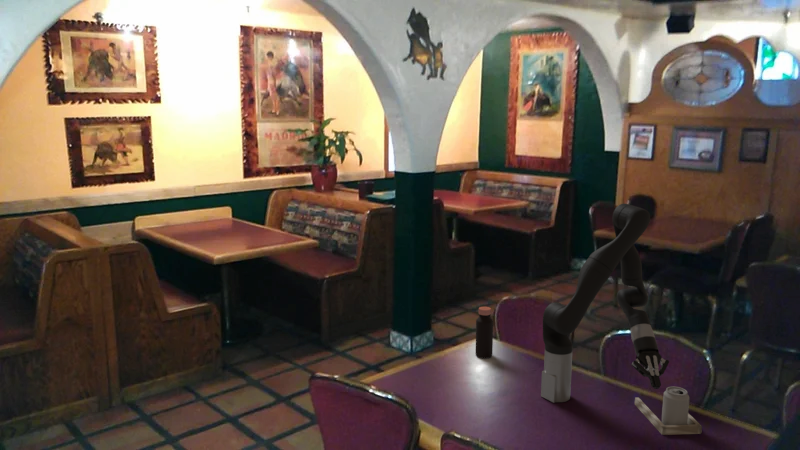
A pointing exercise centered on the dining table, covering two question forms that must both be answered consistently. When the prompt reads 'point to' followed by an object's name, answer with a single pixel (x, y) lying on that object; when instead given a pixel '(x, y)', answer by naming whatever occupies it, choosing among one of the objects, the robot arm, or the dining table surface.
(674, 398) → the can
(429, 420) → the dining table surface
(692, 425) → the wooden frame
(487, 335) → the bottle
